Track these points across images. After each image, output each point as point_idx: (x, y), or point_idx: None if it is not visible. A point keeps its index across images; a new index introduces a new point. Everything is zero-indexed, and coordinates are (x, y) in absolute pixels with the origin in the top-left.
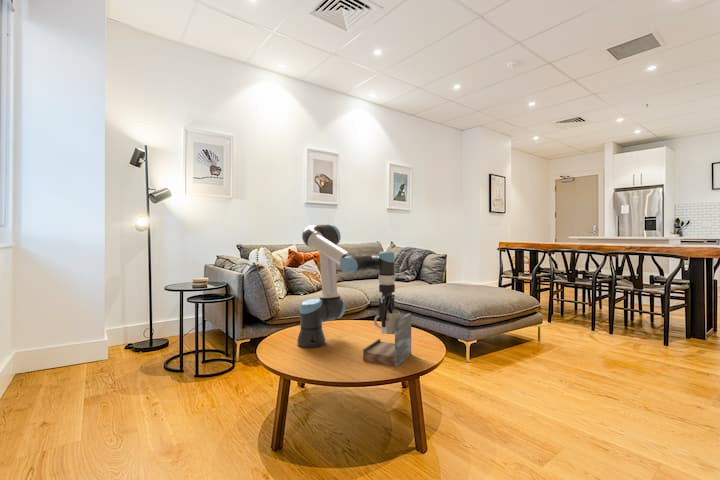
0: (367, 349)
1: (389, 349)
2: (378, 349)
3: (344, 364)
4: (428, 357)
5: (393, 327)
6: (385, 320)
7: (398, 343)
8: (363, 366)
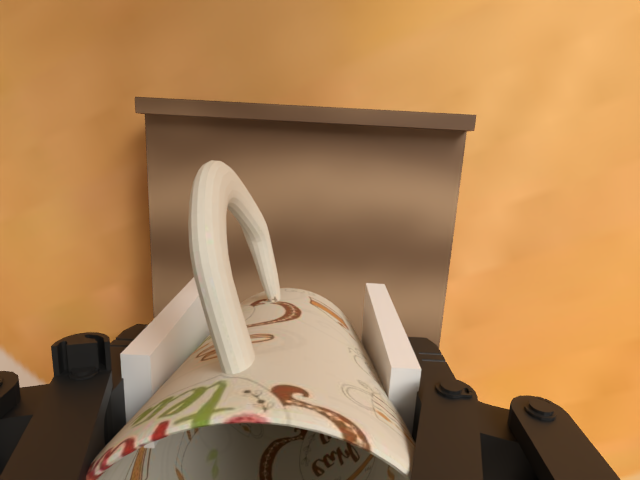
0: (197, 116)
1: (291, 276)
2: (254, 196)
3: (31, 8)
4: None
5: (208, 451)
6: (126, 422)
7: None
8: (70, 155)
